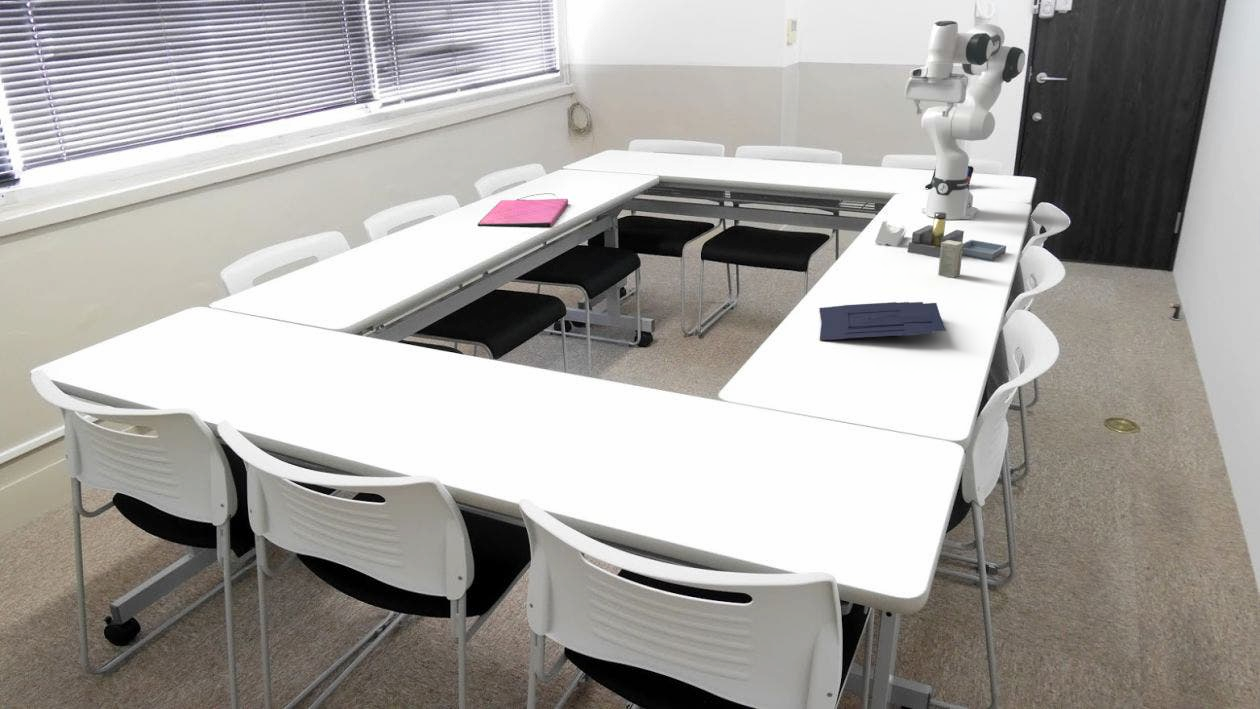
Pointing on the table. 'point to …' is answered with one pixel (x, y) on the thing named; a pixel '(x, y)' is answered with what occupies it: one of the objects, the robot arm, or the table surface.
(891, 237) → the bracket
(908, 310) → the navy flat slab
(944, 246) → the skincare box
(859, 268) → the table surface
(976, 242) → the tray
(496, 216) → the laptop bag
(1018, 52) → the robot arm
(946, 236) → the clevis block
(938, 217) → the pin
